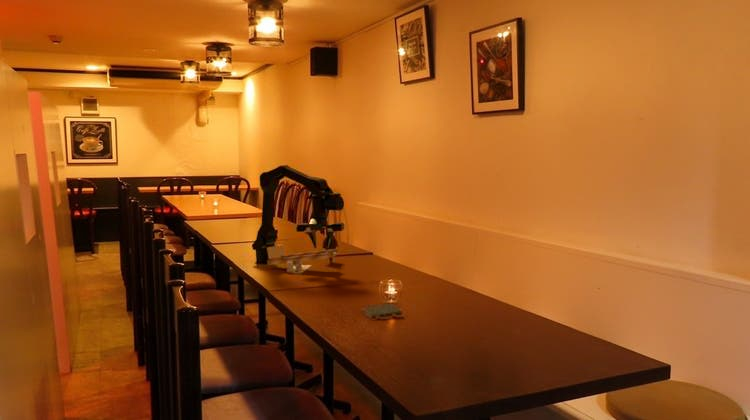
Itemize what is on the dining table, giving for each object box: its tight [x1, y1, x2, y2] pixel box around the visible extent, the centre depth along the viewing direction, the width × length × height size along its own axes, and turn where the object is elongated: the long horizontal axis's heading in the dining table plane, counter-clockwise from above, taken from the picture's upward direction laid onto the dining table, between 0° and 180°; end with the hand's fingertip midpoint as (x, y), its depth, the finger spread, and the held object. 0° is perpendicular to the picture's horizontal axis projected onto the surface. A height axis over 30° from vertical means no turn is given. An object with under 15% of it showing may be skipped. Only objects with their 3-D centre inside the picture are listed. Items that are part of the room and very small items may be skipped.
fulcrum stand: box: [286, 261, 313, 275], centre depth 241 cm, size 10×16×5 cm, turn 170°
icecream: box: [321, 229, 339, 263], centre depth 257 cm, size 7×7×15 cm
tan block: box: [267, 243, 285, 260], centre depth 242 cm, size 5×5×6 cm
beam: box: [266, 248, 339, 266], centre depth 240 cm, size 28×8×2 cm, turn 80°
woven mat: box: [361, 302, 405, 321], centre depth 176 cm, size 10×11×2 cm
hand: (321, 248), depth 239 cm, fingers open, 5 cm apart
